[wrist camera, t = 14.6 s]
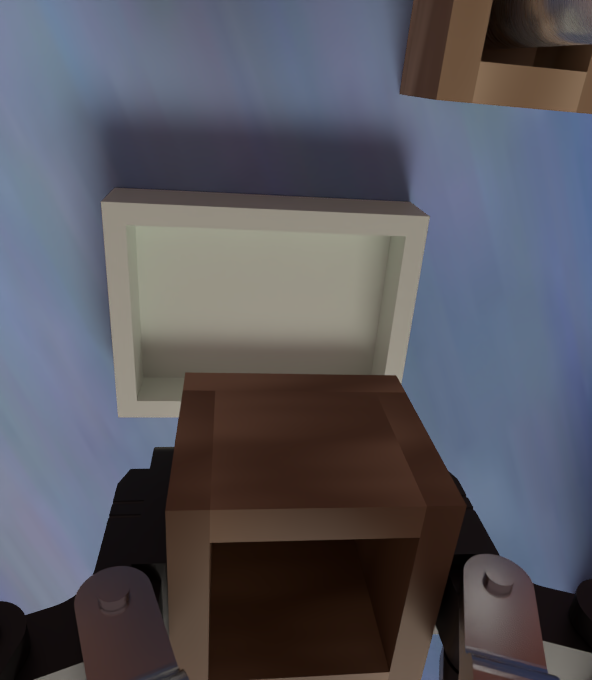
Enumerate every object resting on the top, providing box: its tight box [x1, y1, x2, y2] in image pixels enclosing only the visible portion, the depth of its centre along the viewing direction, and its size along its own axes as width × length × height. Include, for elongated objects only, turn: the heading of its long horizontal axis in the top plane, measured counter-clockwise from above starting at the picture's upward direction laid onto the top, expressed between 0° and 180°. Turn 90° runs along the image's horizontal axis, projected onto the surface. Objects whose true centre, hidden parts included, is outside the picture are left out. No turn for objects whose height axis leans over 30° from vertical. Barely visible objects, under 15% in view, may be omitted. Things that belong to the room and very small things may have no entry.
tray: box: [101, 188, 430, 417], centre depth 24 cm, size 12×9×3 cm
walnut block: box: [165, 372, 467, 680], centre depth 12 cm, size 5×5×4 cm
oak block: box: [400, 0, 592, 114], centre depth 19 cm, size 6×6×4 cm
